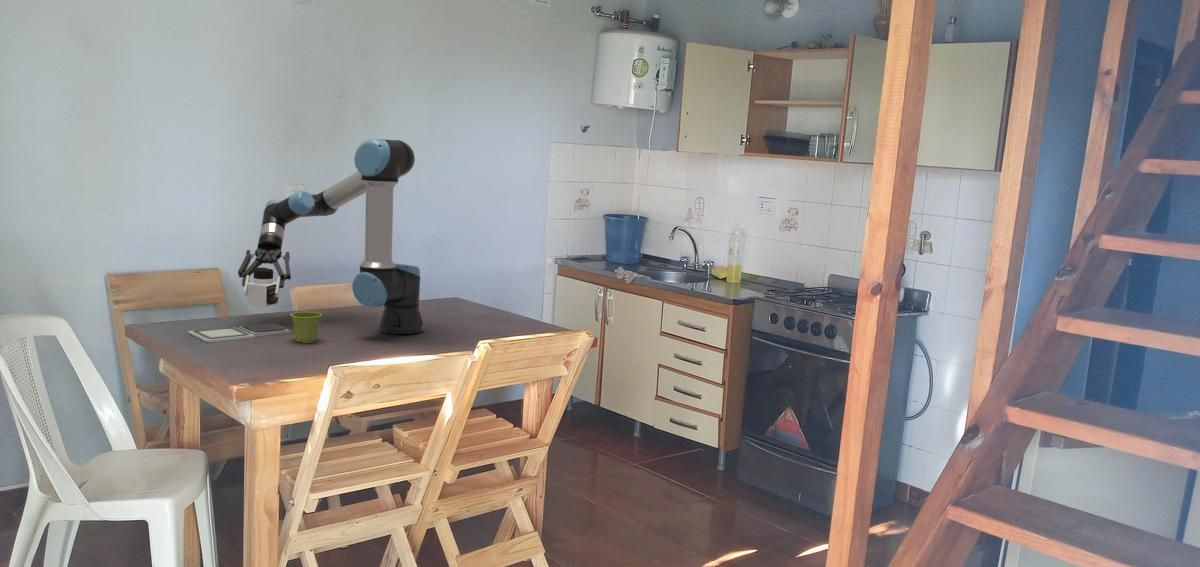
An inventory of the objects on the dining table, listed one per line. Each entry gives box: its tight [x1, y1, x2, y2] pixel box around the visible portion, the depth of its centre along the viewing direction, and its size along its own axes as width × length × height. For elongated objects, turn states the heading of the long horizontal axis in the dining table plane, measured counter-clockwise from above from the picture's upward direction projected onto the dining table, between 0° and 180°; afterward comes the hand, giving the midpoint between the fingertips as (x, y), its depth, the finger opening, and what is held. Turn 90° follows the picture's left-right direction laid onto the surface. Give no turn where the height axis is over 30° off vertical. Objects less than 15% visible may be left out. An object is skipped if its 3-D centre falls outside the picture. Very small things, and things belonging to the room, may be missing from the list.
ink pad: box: [237, 322, 291, 338], centre depth 302 cm, size 12×12×1 cm
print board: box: [187, 326, 256, 343], centre depth 293 cm, size 15×15×1 cm
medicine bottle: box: [246, 266, 279, 308], centre depth 301 cm, size 7×7×12 cm
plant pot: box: [290, 311, 323, 344], centre depth 292 cm, size 9×9×9 cm
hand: (261, 294), depth 298 cm, fingers closed on medicine bottle, 9 cm apart
